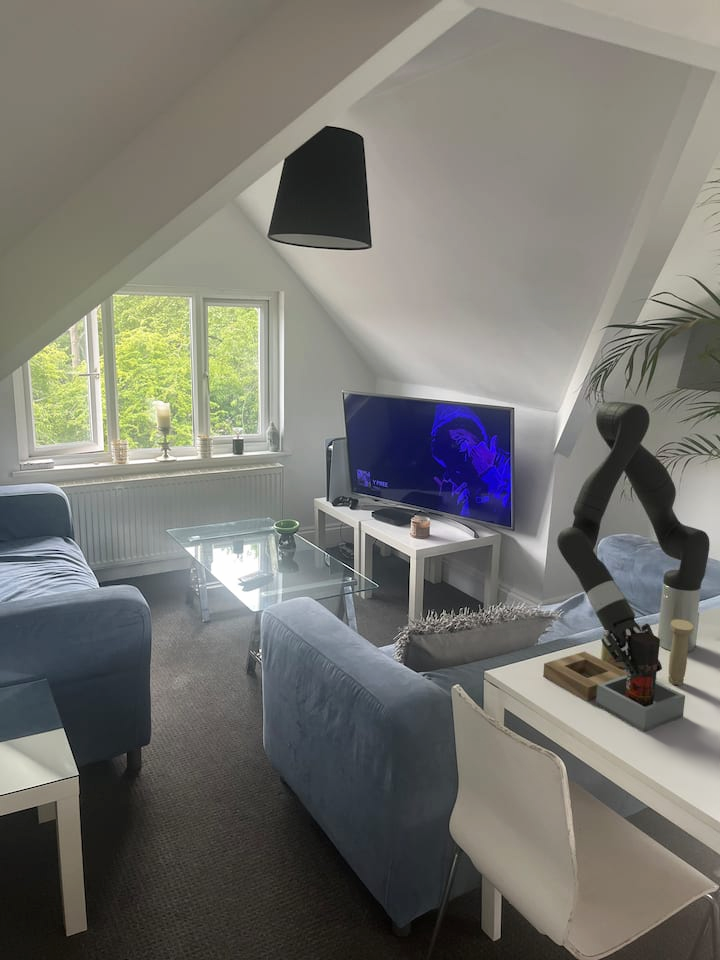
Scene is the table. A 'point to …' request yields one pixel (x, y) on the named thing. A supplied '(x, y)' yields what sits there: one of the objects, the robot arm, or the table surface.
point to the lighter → (607, 656)
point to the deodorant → (643, 668)
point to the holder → (572, 666)
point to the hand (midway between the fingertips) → (648, 673)
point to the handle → (679, 650)
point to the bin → (643, 718)
